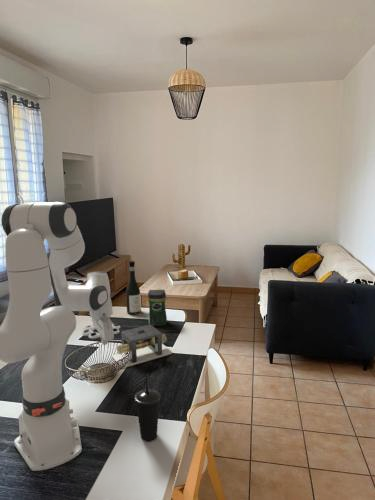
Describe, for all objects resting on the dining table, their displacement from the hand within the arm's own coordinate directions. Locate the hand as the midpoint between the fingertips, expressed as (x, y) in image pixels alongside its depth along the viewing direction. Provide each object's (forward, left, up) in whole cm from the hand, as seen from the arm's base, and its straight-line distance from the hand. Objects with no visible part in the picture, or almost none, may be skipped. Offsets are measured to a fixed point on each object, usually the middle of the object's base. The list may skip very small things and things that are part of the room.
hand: (104, 343), depth 153 cm
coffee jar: (+30, -39, -11) cm, 51 cm away
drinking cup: (-46, +3, -11) cm, 48 cm away
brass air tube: (+2, -17, -7) cm, 19 cm away
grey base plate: (+2, -17, -11) cm, 21 cm away
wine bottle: (+52, -35, -11) cm, 64 cm away
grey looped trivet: (+38, -11, -12) cm, 41 cm away
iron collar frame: (+2, -17, -11) cm, 21 cm away
